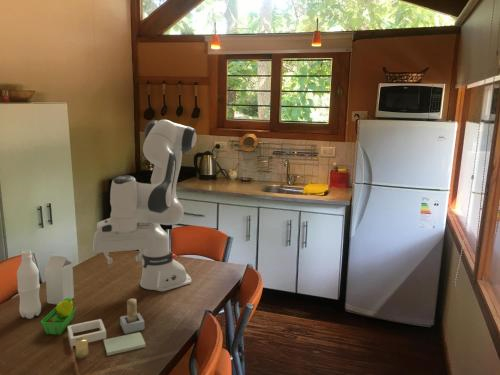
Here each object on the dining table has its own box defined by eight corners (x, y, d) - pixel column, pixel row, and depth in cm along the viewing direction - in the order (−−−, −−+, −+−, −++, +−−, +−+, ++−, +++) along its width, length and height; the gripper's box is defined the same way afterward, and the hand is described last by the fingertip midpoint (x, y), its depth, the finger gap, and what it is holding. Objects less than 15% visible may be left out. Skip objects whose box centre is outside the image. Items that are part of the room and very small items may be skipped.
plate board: (140, 338, 144) (140, 331, 144) (145, 351, 137) (145, 344, 137) (103, 346, 139) (103, 339, 138) (107, 359, 132) (107, 352, 131)
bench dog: (87, 353, 134) (86, 336, 133) (89, 359, 131) (88, 341, 130) (75, 356, 132) (74, 338, 131) (77, 362, 129) (76, 344, 128)
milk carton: (63, 305, 164) (60, 259, 160) (47, 303, 166) (44, 257, 162) (74, 297, 171) (72, 253, 167) (58, 295, 172) (56, 251, 169)
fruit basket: (56, 319, 154) (54, 290, 152) (80, 320, 154) (79, 291, 152) (40, 335, 143) (38, 305, 141) (66, 337, 143) (64, 306, 141)
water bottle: (25, 310, 159) (20, 248, 154) (44, 310, 160) (40, 248, 155) (16, 320, 152) (11, 254, 147) (37, 320, 153) (32, 254, 148)
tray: (101, 328, 149) (101, 318, 148) (106, 340, 141) (106, 331, 141) (68, 335, 144) (67, 325, 143) (71, 349, 136) (70, 339, 135)
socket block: (139, 322, 153) (139, 312, 153) (144, 331, 148) (144, 321, 147) (120, 327, 150) (120, 316, 149) (124, 336, 144) (124, 325, 144)
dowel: (135, 323, 151) (135, 297, 149) (138, 327, 148) (137, 301, 146) (126, 325, 149) (126, 299, 147) (128, 330, 147) (128, 303, 145)
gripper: (153, 219, 150) (152, 256, 153) (92, 223, 142) (92, 262, 145) (156, 224, 145) (156, 262, 147) (93, 228, 137) (94, 268, 139)
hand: (124, 262), depth 146 cm, fingers open, 8 cm apart
